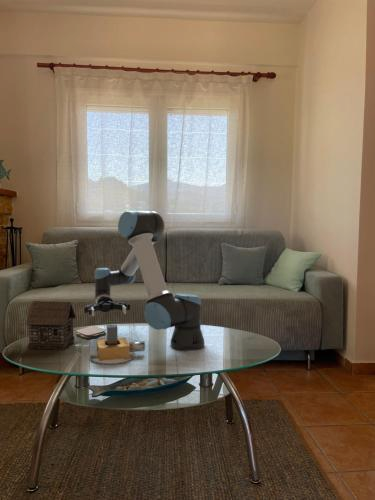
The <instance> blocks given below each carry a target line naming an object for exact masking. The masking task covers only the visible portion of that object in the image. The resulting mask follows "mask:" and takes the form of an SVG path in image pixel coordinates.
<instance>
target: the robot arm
mask: <svg viewBox="0 0 375 500" xmlns="http://www.w3.org/2000/svg"><path fill="white" fill-rule="evenodd" d="M117 229H118V233H119V235H120V236H121V237H122V238H126V241H127V244H129V245H130V246H132V249H131V251H130V252H129V254H128V255H127V257H126V259H125V260H124V262H123V264H121V266H120V268H119V269H117V270H111V269H110V268H108V267H97V268H96V269H95V270H94V285H95V286H94V287H95V289H94V302H95V303H94V302H91V303H90V304H88V305H85V306H84V309H83V310H84V313H85V314H87V313H88V315H91V316H92V317H95V312H97V311H98V312H102V313H109V312H110V311H115V310H117V311H118V310H119V311H122V313H123V314H124V315H127V311H131V304H130V303H126V302H122V301H117V302H116V301H113V298H111V287H114V286H123V285H128V284H129V285H130V284H132V283H134V282H135V280H136V271H137V270H138V269H139V270H140V274H141V277H142V280H143V283H144V286H145V290H146V293H147V296H148V297H147V299H146V301H145V302H146V305H145V307H144V312H143V313H144V318H145V321H146V322H147V324H148V326H149V327H151V328H152V329H155V330H158V331H159V330H166V329H169V328H173V327H174V330H173V332H172V335H171V338H170V347H171V348H173V349H175V350H178V351H195V350H196V351H197V350H200V349H203V348H204V347H205V339H204V335H203V332H202V330H201V329H202V328H201V320H202V319H201V316H202V314H201V313H202V303H201V297H200V296H199V295H197V294H189V293H175V294H173V292H171V291H169V290H168V288H167V284H166V281H165V278H164V276H163V272H162V269H161V265H160V263H159V260H158V257H157V253H156V251H155V246H154V244H155V243H158V242H159V241H160V240H161V238H162V236H163V234H164V232H165V221H164V219H163V217H162V216H161V214H159V213H158V212H157V211H153V210H133V209H132V210H125V211H124V212H123V213H121V215H120V217H119V219H118V224H117Z"/></svg>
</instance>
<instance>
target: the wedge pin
mask: <svg viewBox="0 0 375 500" xmlns="http://www.w3.org/2000/svg"><path fill="white" fill-rule="evenodd" d="M118 338H119V337H118V325H117V324H106V339H107V345H118Z"/></svg>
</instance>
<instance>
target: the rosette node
mask: <svg viewBox="0 0 375 500" xmlns="http://www.w3.org/2000/svg"><path fill="white" fill-rule="evenodd" d="M95 341H96V342H95V344H96V350H95V351H93V352H92V353H91V354H90V355H89V359H90V360H89V361H91V362H92V363H95V364H98V365H103V364H104V365H105V366H106V365H107V366H108V365H109V366H111V365H112V366H113V365H120V364H126V363H129V362H131V361H132V360H134V359H135V357H136V354H135V353H138V352H139V353H140V352H145V350H146V344H145V341H142V340H141V341H132V342H130V341H129V342H128V341H127V339H126V337H118V345H107V338H103V339H96V340H95Z"/></svg>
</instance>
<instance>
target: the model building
mask: <svg viewBox="0 0 375 500" xmlns="http://www.w3.org/2000/svg"><path fill="white" fill-rule="evenodd" d="M76 317H77V316H76V312H75V310H74V307H73V304H72V302H71V301H56V300H55V301H53V300H52V301H49V300H45V301H44V300H33V301H32V302H31V303H30V307H29V312H28V314H27V318H26V322H25V325H26V326H28V329H27V330H28V343H27V348H29V349H35V350H36V349H38V350H41V349H42V350H65V349H67V348H69V347H70V346H71V345H72V344H73V343H74V341H75V336H74V321H73V320H74V319H76Z"/></svg>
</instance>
